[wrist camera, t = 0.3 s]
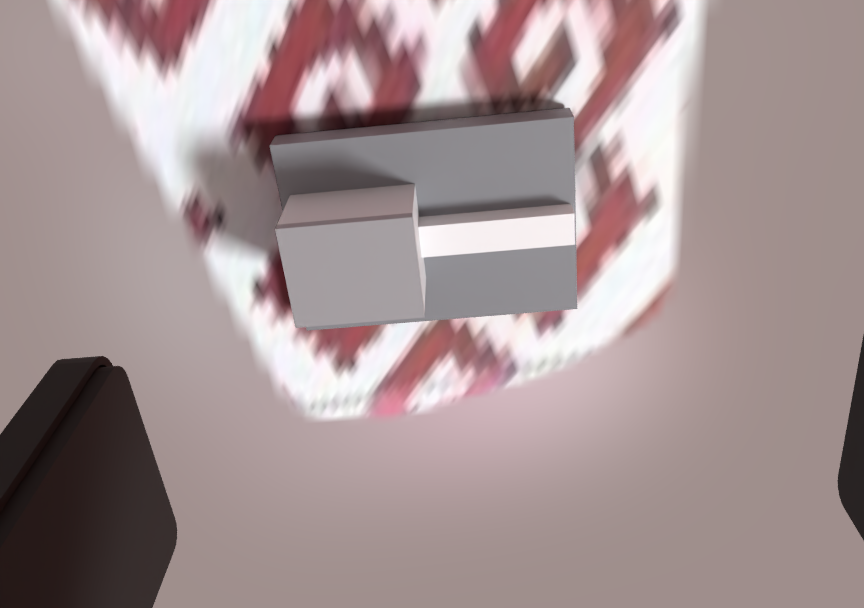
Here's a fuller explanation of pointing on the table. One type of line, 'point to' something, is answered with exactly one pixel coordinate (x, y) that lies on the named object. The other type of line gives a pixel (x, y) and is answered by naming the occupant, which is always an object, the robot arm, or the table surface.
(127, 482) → the robot arm
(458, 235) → the rail board
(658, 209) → the table surface
